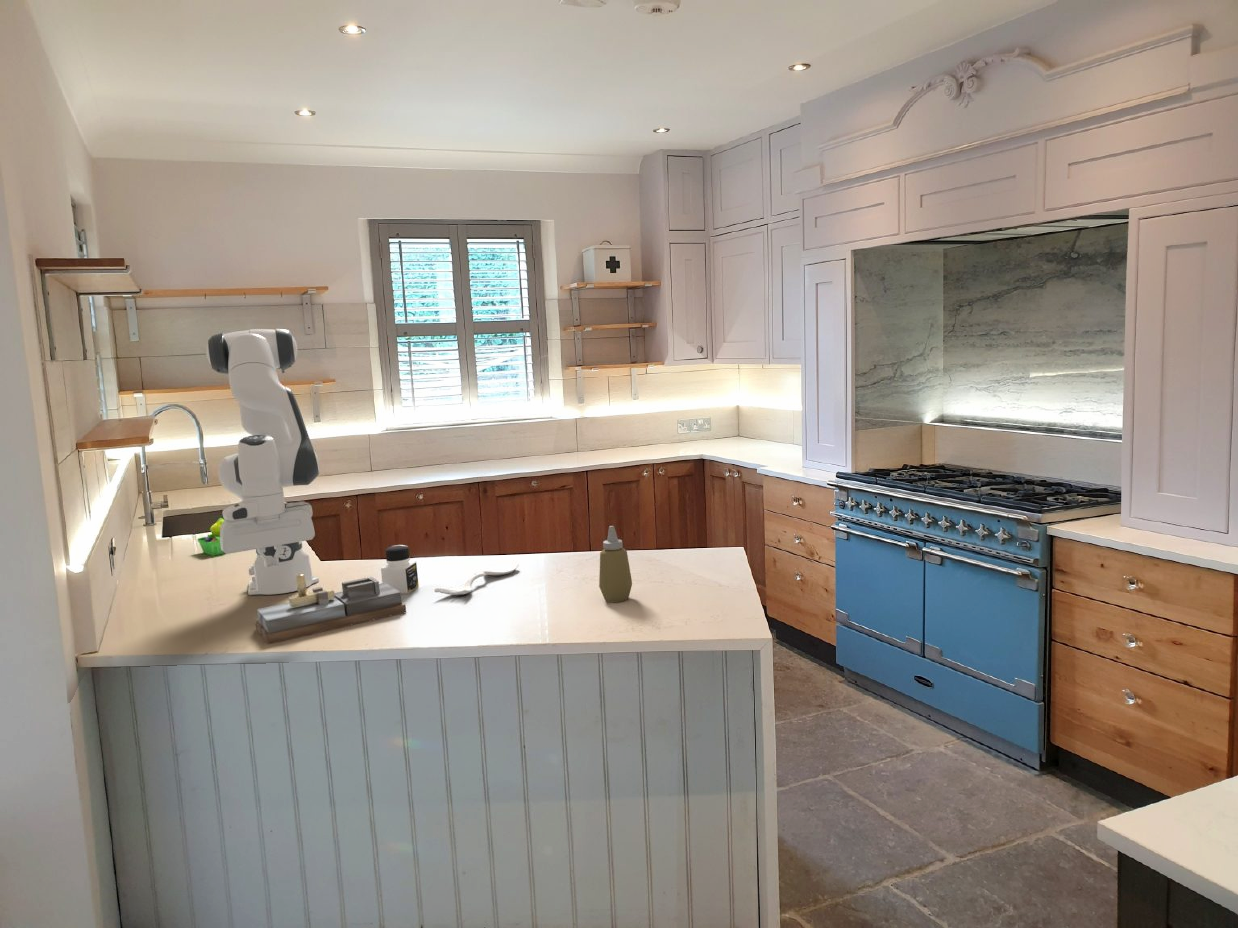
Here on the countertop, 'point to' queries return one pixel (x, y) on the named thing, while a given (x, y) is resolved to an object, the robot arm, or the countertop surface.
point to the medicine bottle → (400, 569)
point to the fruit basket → (212, 540)
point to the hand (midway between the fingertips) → (271, 565)
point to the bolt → (302, 593)
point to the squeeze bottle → (614, 569)
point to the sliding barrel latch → (330, 610)
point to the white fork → (494, 569)
